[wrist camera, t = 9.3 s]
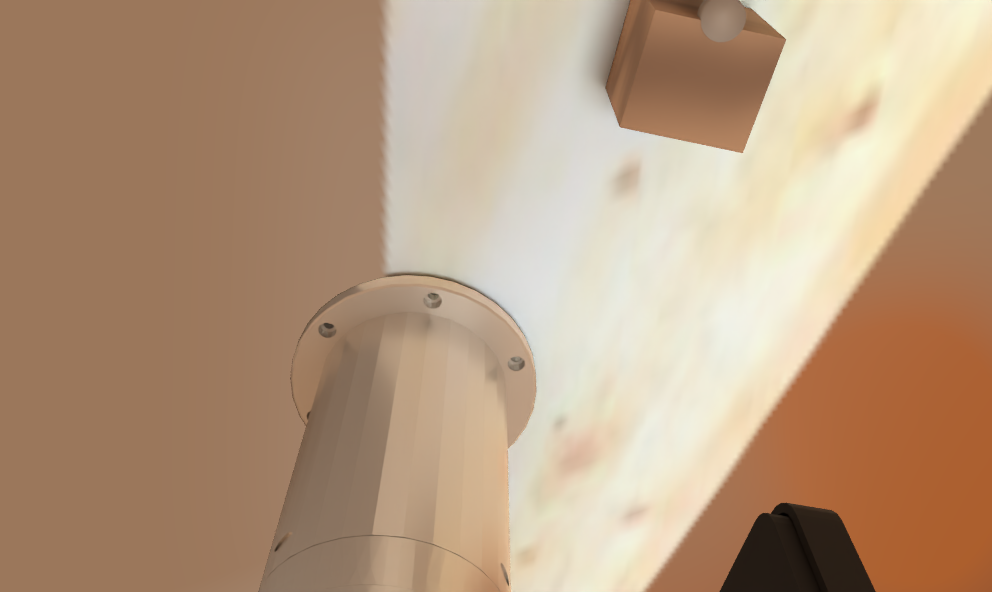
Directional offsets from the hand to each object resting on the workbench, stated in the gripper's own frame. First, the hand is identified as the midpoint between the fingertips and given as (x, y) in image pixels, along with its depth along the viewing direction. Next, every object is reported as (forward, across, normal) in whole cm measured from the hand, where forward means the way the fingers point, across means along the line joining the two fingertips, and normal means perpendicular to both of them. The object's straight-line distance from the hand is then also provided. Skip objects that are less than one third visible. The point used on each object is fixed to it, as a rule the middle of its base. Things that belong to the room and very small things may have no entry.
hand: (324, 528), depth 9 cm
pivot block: (+30, -10, 0) cm, 32 cm away
